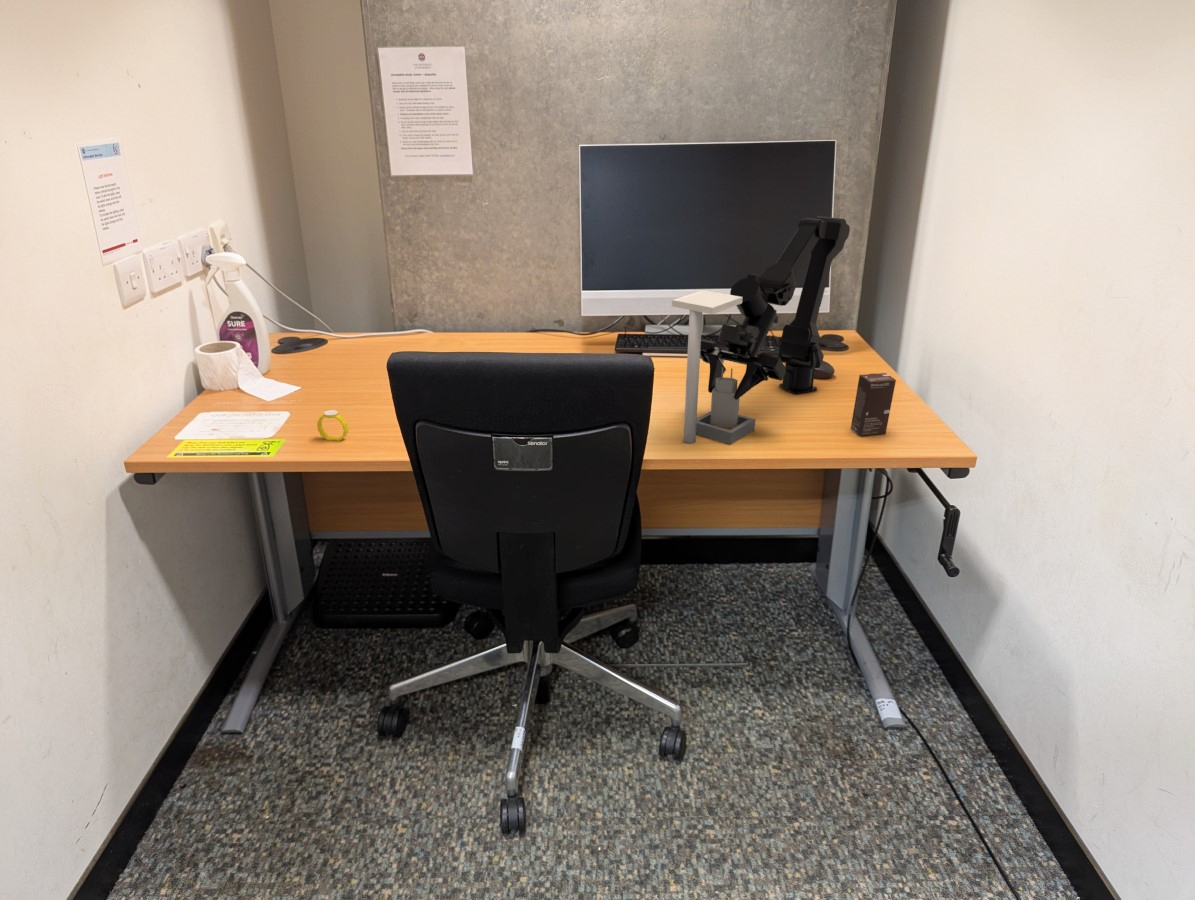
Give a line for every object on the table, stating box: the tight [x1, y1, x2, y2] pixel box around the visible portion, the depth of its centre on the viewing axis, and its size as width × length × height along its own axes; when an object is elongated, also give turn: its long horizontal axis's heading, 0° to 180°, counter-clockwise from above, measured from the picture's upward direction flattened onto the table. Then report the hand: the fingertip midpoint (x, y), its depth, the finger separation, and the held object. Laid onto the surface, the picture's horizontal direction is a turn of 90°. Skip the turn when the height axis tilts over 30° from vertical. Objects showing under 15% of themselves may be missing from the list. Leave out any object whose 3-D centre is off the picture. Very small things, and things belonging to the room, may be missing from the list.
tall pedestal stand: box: [671, 289, 757, 446], centre depth 159 cm, size 15×12×28 cm
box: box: [850, 372, 897, 437], centre depth 163 cm, size 6×4×12 cm
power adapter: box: [710, 368, 741, 429], centre depth 163 cm, size 3×5×12 cm, turn 72°
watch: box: [316, 409, 349, 442], centre depth 161 cm, size 6×3×6 cm, turn 80°
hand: (722, 395), depth 162 cm, fingers closed on power adapter, 6 cm apart
